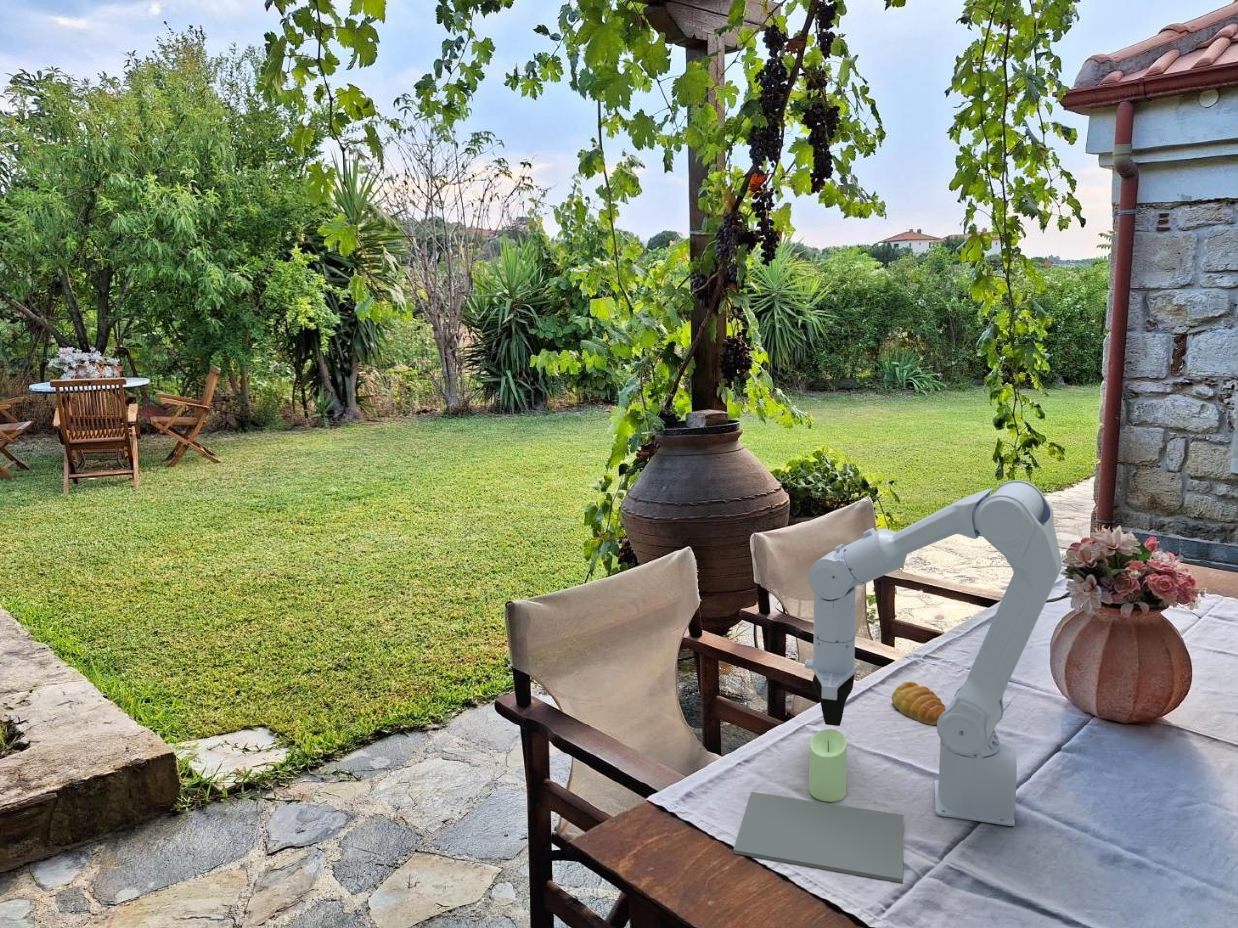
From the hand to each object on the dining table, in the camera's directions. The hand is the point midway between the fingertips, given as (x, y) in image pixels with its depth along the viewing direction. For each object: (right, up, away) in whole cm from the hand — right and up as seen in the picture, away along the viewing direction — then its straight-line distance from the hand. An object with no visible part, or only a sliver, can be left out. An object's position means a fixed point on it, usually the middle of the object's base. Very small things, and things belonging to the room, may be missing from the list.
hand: (832, 723), depth 124 cm
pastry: (+18, -3, +16) cm, 25 cm away
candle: (-2, -8, -6) cm, 10 cm away
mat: (-5, -10, -15) cm, 19 cm away
